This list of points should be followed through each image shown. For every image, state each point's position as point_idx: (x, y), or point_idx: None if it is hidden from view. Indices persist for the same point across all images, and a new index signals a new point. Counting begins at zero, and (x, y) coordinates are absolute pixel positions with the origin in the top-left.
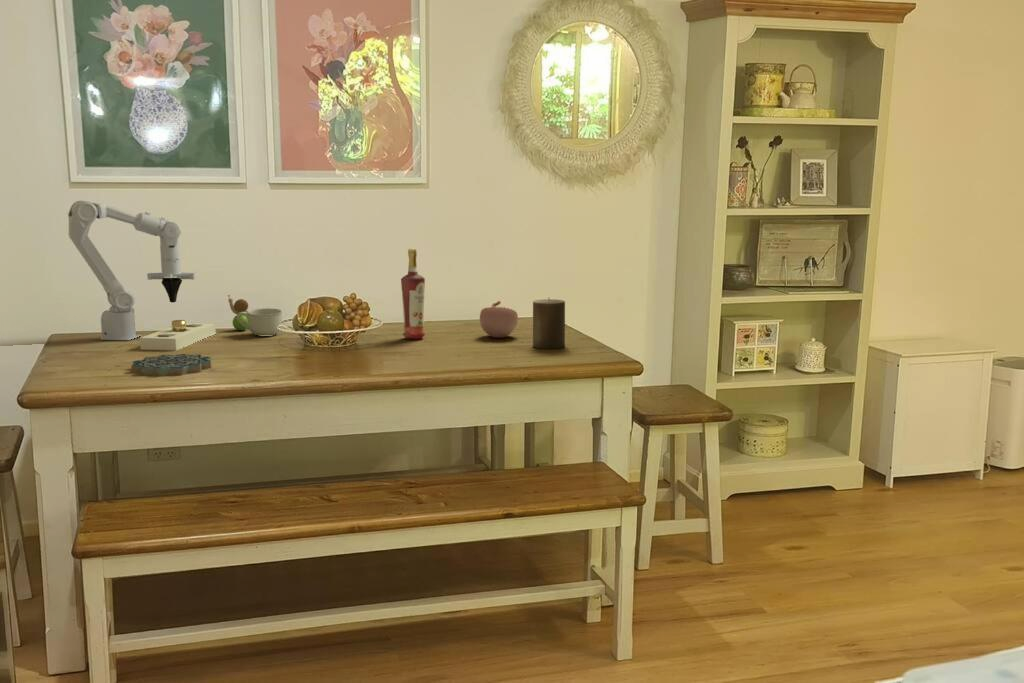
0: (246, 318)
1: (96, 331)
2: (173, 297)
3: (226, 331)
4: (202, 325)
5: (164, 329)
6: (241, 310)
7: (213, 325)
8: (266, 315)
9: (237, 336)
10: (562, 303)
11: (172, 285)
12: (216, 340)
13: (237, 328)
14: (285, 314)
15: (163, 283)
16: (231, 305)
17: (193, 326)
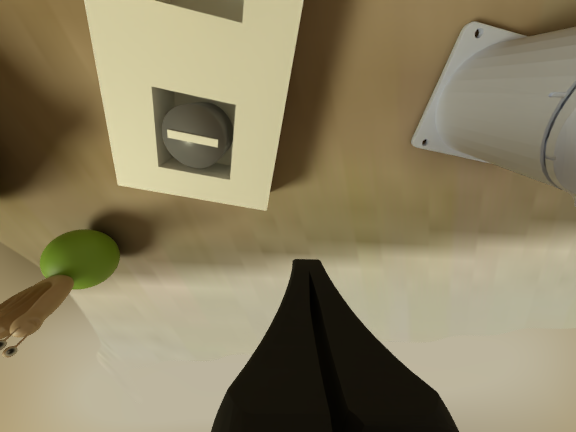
0: (40, 260)
1: (546, 250)
2: (295, 277)
3: (144, 230)
4: (151, 146)
5: (301, 9)
6: (31, 287)
7: (117, 166)
8: None
9: (35, 128)
10: None
11: (296, 367)
12: (54, 15)
13: (97, 231)
14: (133, 398)
15: (417, 392)
16: (41, 298)
17: (175, 107)
